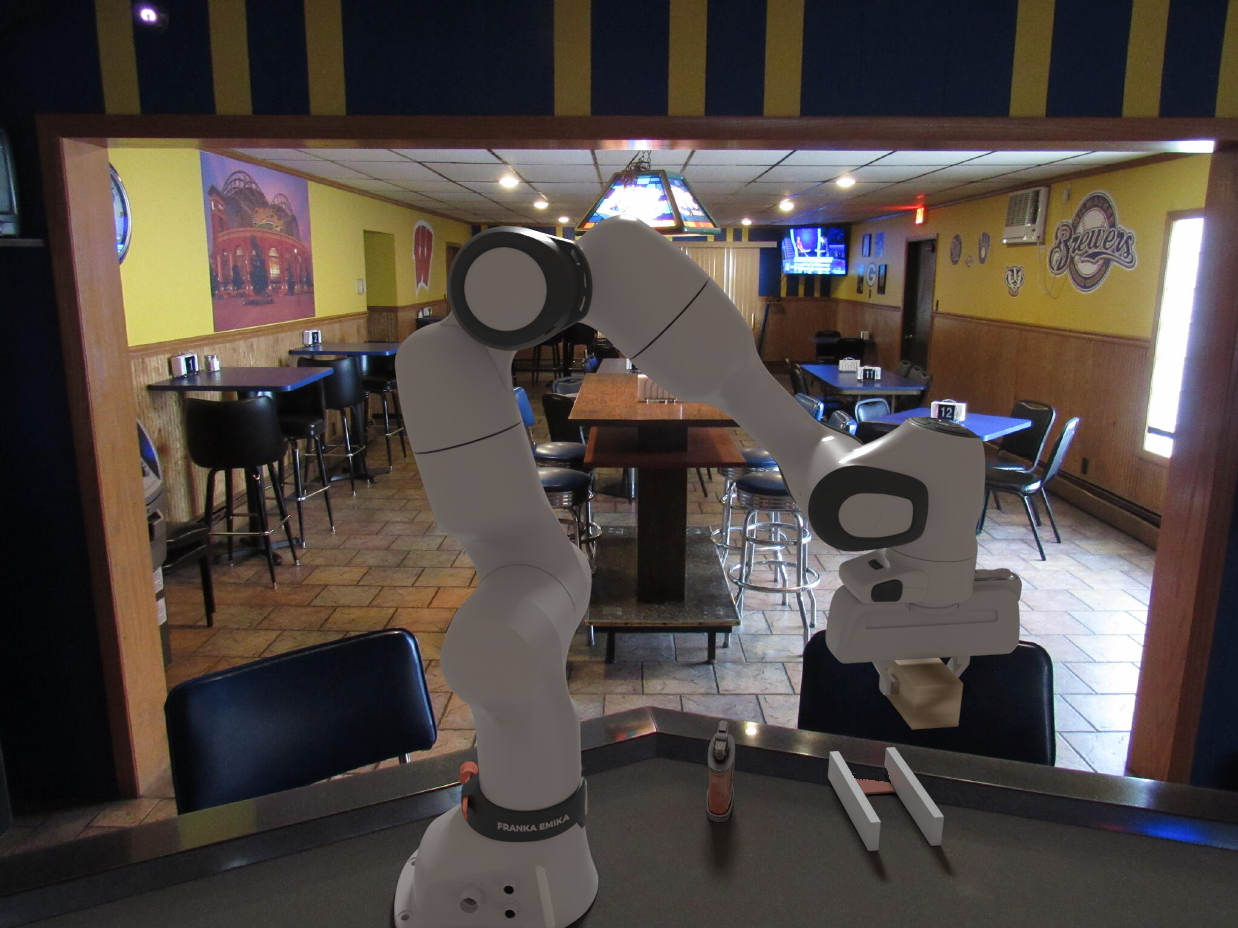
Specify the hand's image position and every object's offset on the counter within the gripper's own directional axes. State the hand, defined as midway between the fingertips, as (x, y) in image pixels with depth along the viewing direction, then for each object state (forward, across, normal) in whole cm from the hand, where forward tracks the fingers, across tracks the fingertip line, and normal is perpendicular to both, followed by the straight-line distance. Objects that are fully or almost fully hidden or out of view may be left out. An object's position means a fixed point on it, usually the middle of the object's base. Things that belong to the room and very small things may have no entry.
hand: (916, 690), depth 91 cm
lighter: (+23, +18, -14) cm, 33 cm away
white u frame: (+23, -2, -10) cm, 25 cm away
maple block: (+2, 0, +1) cm, 2 cm away
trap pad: (+23, -2, -15) cm, 28 cm away
